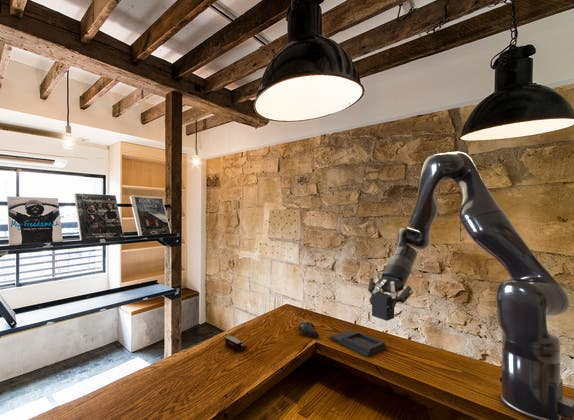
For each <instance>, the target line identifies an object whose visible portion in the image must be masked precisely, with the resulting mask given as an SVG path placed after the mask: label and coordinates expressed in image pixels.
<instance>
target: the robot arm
mask: <svg viewBox="0 0 574 420" xmlns="http://www.w3.org/2000/svg"><path fill="white" fill-rule="evenodd" d="M448 181H453V183H454V184H455V185H456V186H457V188H458V190H459V192H460V195H461V201H460V206H459V210H458V211H459V213H458V217H459V220H460V223H461V224H462V226H463V228H464V229H465V232H466V233H467V235H468V236H469V237H470V239H472V241H473V242H474V243H475V244H476V245H477V246H479V247H480V248H481V249H482V250H484V251H485V252H486V253H487V254H489V255H490V256H491V257H493V258H494V259H495V260H497V261H498V262H499V263H500V265H501V266H502V267H503V268H504V270H505V271H506V272H507V274H508V275H509V277H510V279H506V280H503V281H501V282H500V283H499V284H498V286H497V288H496V291H495V306H496V319H497V323H498V326H499V328H500V329H501V377H499V383H501V394H500V396H501V397H500V399H501V402H503V403H504V405H506V406H507V407H509V408H510V409H512V410H513V411H515V412H516V413H518V414H520V415H523V416H524V417H528V418H530V419H532V420H562V419H563V418H565V419H567V420H573V419H574V399H571V398H568V397H566V396H563V395H564V386H563V385H564V379H563V378H562V377H561V339H560V338H559V336H557V335H556V334H554V333H552V332H551V331H549V330H548V323H547V317H556V316H561V315H564V314H565V313H567V312H568V311H569V309H570V306H571V301H570V298H569V296H568V294H567V292H566V291H565V289H564V288H563V287H562V286H561V284H560V283H559V282H558V280H557V279H556V278H554V277H553V275H552V274H551V273H550V272H549V271H548V270H547V269H546V268H545V266H544V265H543V264H542V262H540V260H539V259H538V258H537V257H536V255H534V253H533V252H532V250H531V249H530V247H529V246H528V244H527V243H526V241H525V240H524V239H523V237H522V236H521V235H520V234H519V232H518V231H517V229H516V227H515V226H514V224H513V222H512V221H511V219H509V217H508V215H507V214H506V213H505V211H504V210H503V208H501V206H500V205H499V204H498V201H496V199H495V197H494V196H493V195H492V193H491V191H490V190H489V188H488V187H487V185H486V184H485V182H484V180H483V178H482V176H481V174H480V172H479V170H478V169H477V166H476V164H475V162H474V161H473V159H472V157H470V156H469V155H468V154H467V153H465V152H461V151H451V152H444V153H437V154H432V155H430V156H427V158H426V159H425V161H424V162H423V164H422V168H421V172H420V177H419V182H418V189H417V195H416V199H415V204H414V206H413V208H412V211H411V214H410V216H409V219H408V223H407V224H408V225H409V226H410V227H409V226H403V227H401V228H399V229H398V231H397V233H396V243H395V244H396V245H395V249H394V250H393V253H392V255H391V256H390V258H389V259H388V261H387V263H386V265H385V266H384V269H383V271H382V273H381V276H380V278H378V279H374V278H373V277H370V278H369V283H368V287H367V291H368V292H369V294H370V295H371V296H370V297H369V300H368V301H369V303H370V305H371V306H372V294H375V293H378V292H381V293H384V294H385V293H389V294H390V295H392V299H390V301H389V303H388V305H387V309H388V310H389V311H391V310H393V309H394V310H395V308H396V305H397V303H401V304H404V303H405V302H407V300H408V299H409V298H410V297H411V296H412V295H413V293H414V291H413V288H412V286H410V285H409V286H406V284H407V282H408V279H409V277H410V275H411V273H412V270H413V268H414V264H415V262H416V260H417V257H418V251H417V250H425V249H427V248H428V247H429V246H430V244H431V231H432V230H431V229H432V226H433V224H434V222H435V220H436V218H437V216H438V212H439V204H438V201H437V199H436V195H435V193H436V189H437V187H438V185H439V184H440V183H441V182H448ZM416 249H417V250H416ZM401 291H402V292H401ZM399 292H401V293H400V294H399Z"/></svg>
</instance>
